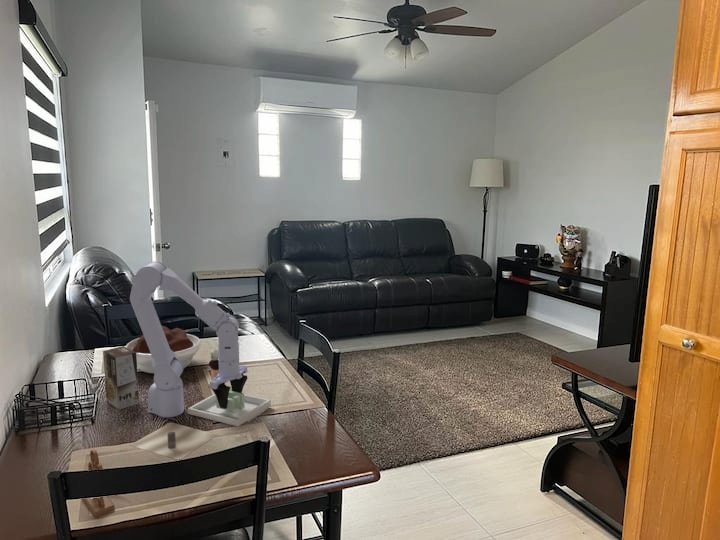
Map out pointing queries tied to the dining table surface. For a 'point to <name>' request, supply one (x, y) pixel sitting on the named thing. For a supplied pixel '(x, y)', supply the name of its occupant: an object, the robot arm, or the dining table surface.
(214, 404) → the tray
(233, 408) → the green block stack
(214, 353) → the grandmother figurine
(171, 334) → the bowl of brown treats
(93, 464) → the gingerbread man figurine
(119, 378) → the coffee box
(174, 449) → the board
